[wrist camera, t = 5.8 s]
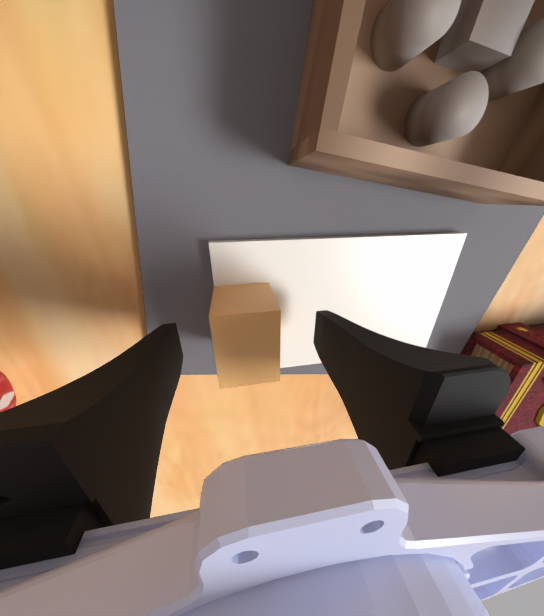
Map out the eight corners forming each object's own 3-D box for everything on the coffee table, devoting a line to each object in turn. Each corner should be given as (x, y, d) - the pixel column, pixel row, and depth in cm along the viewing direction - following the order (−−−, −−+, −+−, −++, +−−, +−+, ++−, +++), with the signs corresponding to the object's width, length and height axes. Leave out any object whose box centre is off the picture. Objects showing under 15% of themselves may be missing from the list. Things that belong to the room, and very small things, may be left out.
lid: (458, 232, 14) (537, 244, 10) (419, 346, 18) (467, 384, 14) (209, 240, 12) (200, 260, 8) (225, 368, 16) (224, 420, 12)
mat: (650, 19, 11) (664, 14, 11) (444, 370, 20) (448, 373, 20) (91, -275, 6) (82, -303, 6) (153, 370, 15) (151, 374, 15)
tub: (576, 9, 10) (763, -93, 7) (482, 203, 13) (572, 206, 10) (329, -112, 8) (415, -380, 4) (287, 165, 11) (315, 150, 7)
